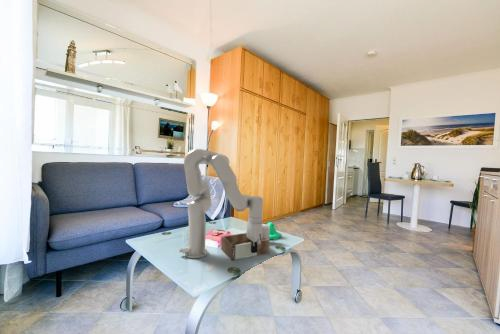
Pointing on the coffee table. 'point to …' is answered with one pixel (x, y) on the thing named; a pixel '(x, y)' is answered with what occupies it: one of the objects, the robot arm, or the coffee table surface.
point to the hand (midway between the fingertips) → (253, 252)
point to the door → (243, 250)
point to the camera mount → (273, 232)
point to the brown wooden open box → (236, 239)
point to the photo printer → (266, 230)
